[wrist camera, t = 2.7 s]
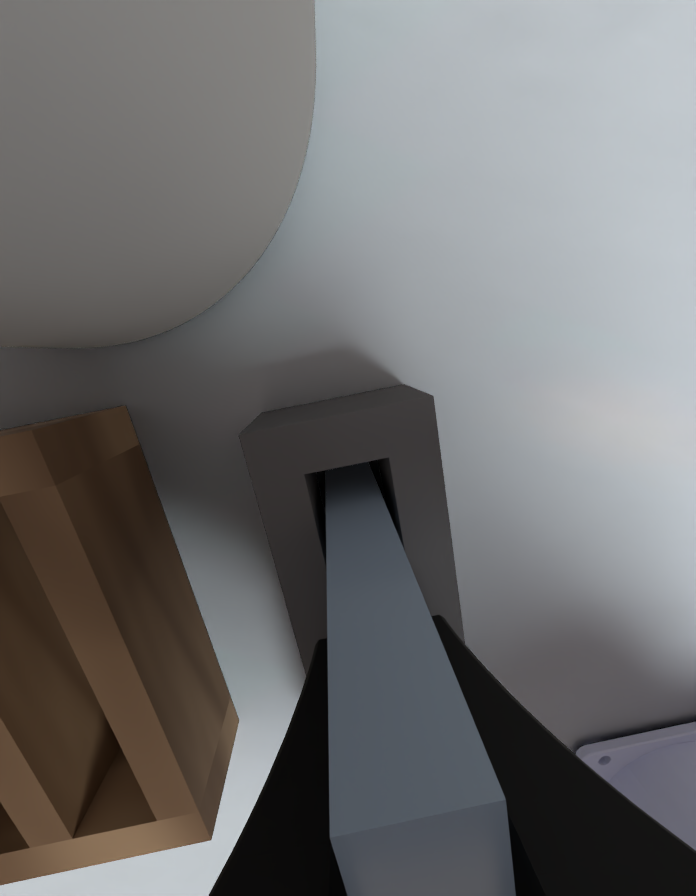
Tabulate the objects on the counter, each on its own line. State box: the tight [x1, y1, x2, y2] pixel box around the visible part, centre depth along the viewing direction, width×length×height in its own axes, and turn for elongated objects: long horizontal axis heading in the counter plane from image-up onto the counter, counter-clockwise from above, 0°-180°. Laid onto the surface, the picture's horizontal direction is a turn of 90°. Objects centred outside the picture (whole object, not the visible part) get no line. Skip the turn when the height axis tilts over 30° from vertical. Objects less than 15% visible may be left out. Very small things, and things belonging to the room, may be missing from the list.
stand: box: [239, 384, 465, 676], centre depth 11 cm, size 4×12×3 cm, turn 11°
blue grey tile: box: [325, 462, 516, 896], centre depth 8 cm, size 1×8×9 cm, turn 10°
